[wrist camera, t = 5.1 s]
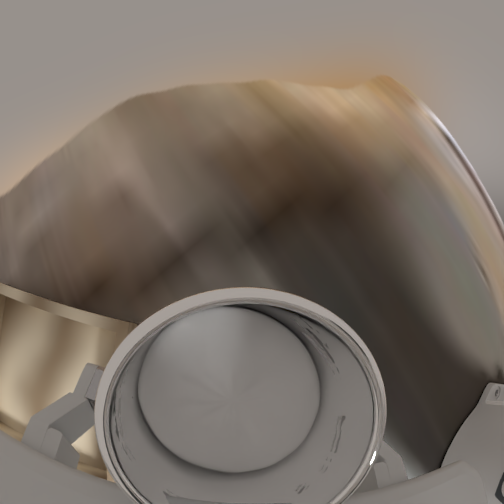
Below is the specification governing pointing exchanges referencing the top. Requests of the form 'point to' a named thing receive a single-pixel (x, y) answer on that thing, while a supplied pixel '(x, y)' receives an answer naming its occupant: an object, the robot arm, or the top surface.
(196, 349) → the beer glass
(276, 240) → the top surface
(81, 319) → the oak tray
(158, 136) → the top surface
